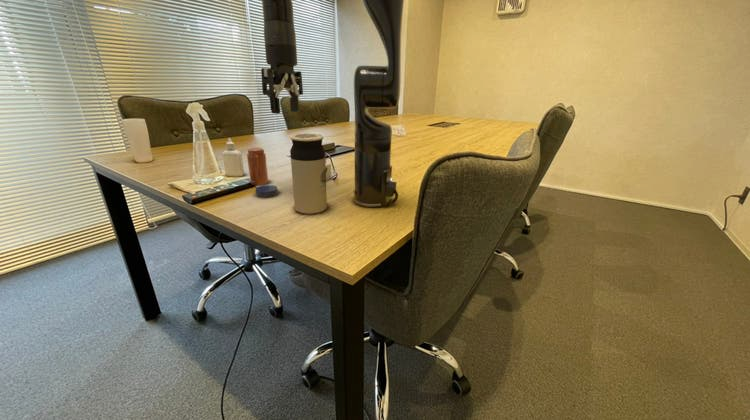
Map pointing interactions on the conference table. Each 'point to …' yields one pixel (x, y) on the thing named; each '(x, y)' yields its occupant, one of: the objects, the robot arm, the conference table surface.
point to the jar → (257, 166)
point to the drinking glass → (138, 139)
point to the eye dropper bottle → (232, 160)
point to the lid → (266, 191)
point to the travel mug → (308, 173)
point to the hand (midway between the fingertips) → (285, 112)
